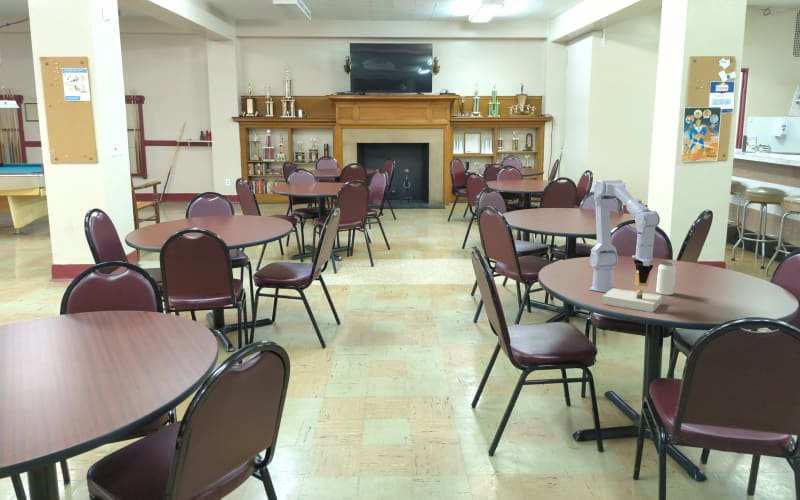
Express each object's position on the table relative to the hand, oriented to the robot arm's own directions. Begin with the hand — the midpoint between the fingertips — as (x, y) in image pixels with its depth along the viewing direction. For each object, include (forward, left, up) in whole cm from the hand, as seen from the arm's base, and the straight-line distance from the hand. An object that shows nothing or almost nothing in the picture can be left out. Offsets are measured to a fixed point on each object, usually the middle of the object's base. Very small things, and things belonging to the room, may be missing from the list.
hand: (641, 281), depth 230 cm
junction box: (-2, -3, -9) cm, 10 cm away
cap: (0, 0, -1) cm, 1 cm away
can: (-25, +4, -10) cm, 27 cm away
